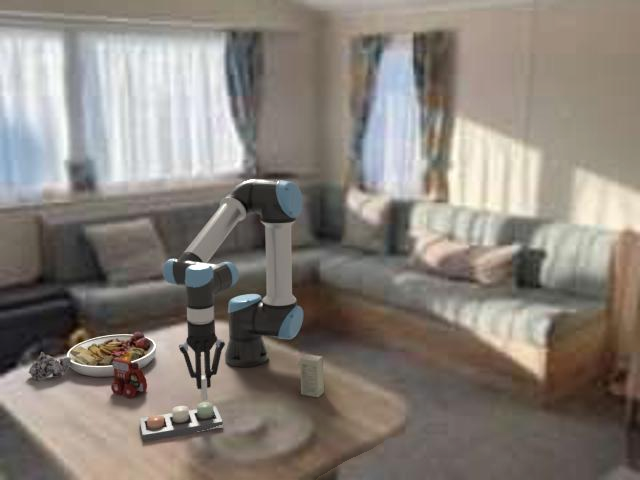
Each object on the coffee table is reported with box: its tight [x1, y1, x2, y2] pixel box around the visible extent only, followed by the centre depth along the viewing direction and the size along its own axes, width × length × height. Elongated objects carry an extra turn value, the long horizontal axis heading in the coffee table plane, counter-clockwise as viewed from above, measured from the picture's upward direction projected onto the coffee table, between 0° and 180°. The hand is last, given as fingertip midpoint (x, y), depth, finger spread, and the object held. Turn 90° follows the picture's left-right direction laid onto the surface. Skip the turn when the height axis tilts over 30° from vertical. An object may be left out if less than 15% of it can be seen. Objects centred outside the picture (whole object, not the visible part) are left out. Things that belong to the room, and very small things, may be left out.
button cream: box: [171, 405, 190, 423], centre depth 189 cm, size 5×5×3 cm
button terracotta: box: [146, 414, 165, 430], centre depth 187 cm, size 5×5×3 cm
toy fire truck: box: [110, 359, 148, 399], centre depth 211 cm, size 7×12×10 cm, turn 64°
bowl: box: [66, 331, 157, 378], centre depth 234 cm, size 30×30×8 cm
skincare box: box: [299, 353, 325, 398], centre depth 209 cm, size 6×4×12 cm
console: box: [139, 405, 224, 442], centre depth 190 cm, size 22×10×2 cm, turn 110°
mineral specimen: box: [28, 351, 72, 382], centre depth 222 cm, size 12×9×10 cm
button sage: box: [196, 401, 214, 419], centre depth 191 cm, size 5×5×3 cm
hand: (204, 398), depth 190 cm, fingers closed
